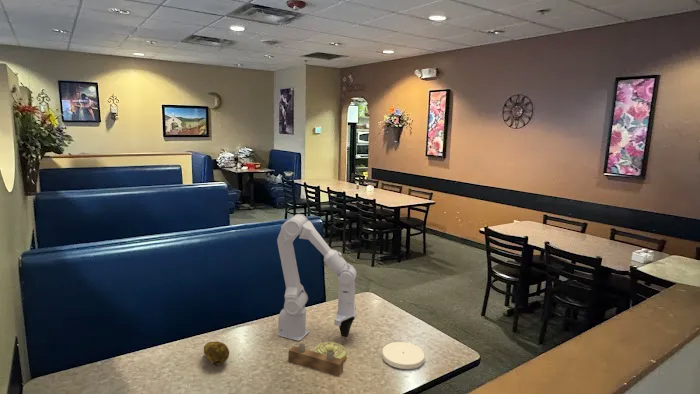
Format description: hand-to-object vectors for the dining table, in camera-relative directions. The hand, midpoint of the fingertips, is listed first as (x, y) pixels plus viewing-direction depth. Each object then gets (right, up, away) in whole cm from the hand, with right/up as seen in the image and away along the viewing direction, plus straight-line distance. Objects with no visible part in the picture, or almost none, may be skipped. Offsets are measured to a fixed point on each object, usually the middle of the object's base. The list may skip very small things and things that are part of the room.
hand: (344, 336), depth 149 cm
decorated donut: (-5, -4, -11) cm, 13 cm away
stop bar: (-9, -4, -16) cm, 19 cm away
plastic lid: (+20, -5, -10) cm, 22 cm away
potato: (-41, -3, -16) cm, 44 cm away
